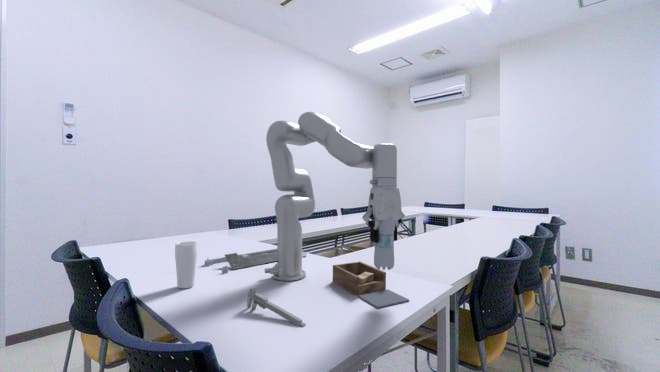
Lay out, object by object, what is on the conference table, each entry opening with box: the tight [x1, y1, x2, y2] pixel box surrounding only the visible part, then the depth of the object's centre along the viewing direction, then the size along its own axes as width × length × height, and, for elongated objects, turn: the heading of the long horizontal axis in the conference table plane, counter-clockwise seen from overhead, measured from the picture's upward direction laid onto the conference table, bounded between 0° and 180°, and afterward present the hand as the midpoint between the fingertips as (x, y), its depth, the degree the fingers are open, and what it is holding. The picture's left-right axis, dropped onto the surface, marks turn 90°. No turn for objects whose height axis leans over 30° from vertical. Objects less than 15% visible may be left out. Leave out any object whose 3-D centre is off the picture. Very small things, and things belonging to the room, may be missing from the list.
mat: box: [357, 289, 410, 310], centre depth 93 cm, size 12×10×1 cm
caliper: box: [246, 287, 307, 328], centre depth 80 cm, size 20×1×6 cm, turn 58°
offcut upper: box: [358, 272, 374, 285], centre depth 102 cm, size 8×3×2 cm, turn 145°
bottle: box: [373, 216, 395, 271], centre depth 93 cm, size 7×7×20 cm
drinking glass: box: [174, 240, 198, 290], centre depth 102 cm, size 7×7×15 cm
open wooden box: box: [332, 260, 387, 297], centre depth 105 cm, size 12×16×6 cm
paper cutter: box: [204, 248, 307, 275], centre depth 139 cm, size 18×45×6 cm, turn 133°
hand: (384, 240), depth 93 cm, fingers closed on bottle, 6 cm apart
